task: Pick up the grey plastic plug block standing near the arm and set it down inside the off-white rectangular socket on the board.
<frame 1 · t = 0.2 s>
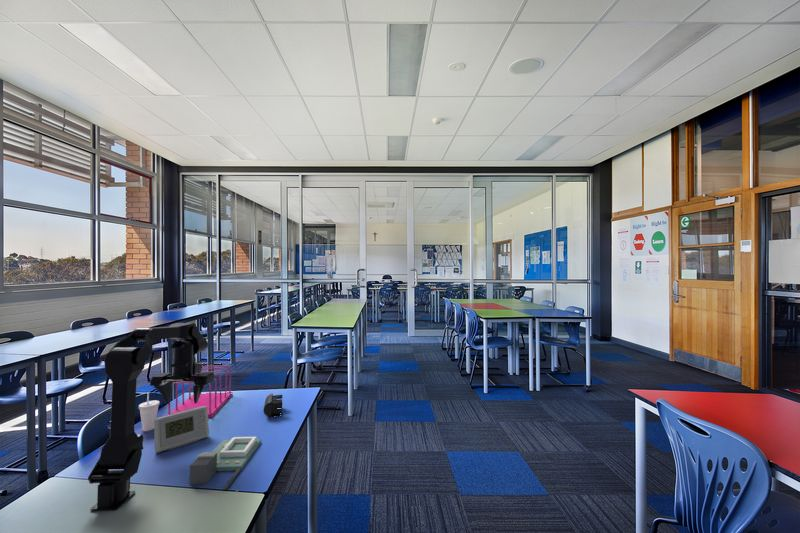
hand: (182, 403, 111), 14 cm above the table, fingers open, 9 cm apart
lead: (234, 476, 94), on the table
plug: (203, 478, 94), on the table
file sorter: (202, 407, 143), on the table
digital clock: (182, 443, 112), on the table
power adapter: (273, 413, 137), on the table
smoothie: (148, 429, 122), on the table
header board: (231, 455, 105), on the table
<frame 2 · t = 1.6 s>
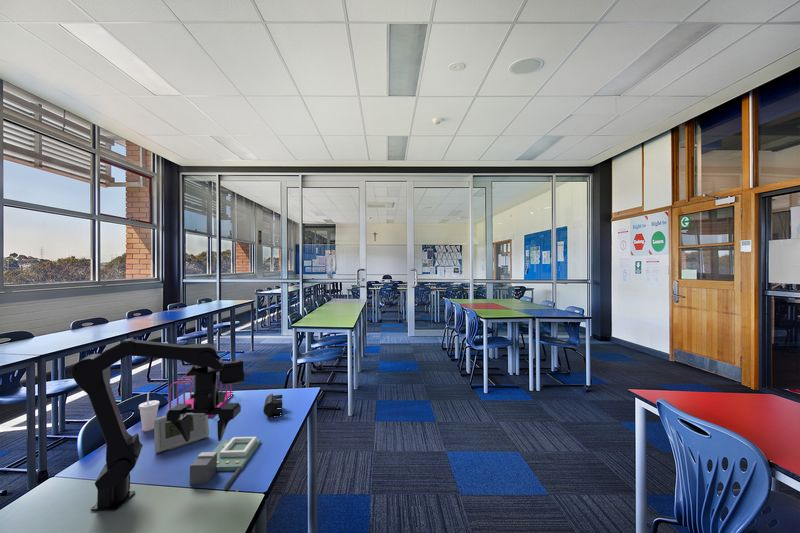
hand: (204, 440, 94), 11 cm above the table, fingers open, 9 cm apart
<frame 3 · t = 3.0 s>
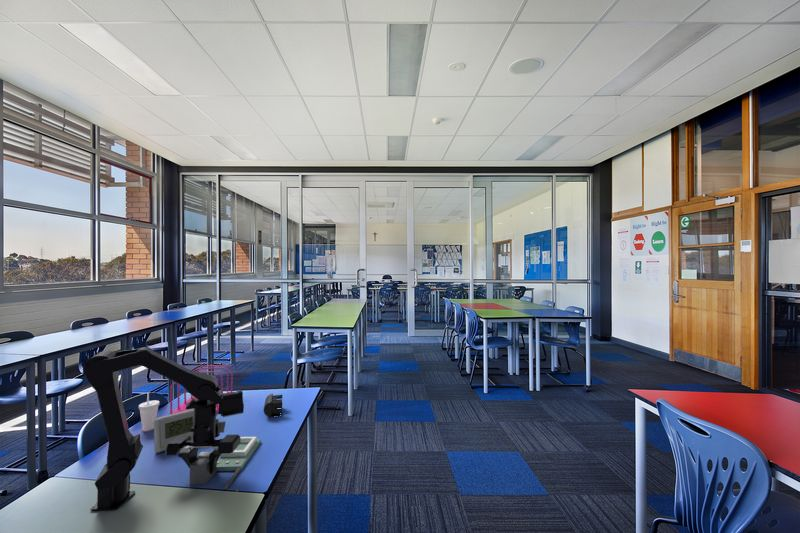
hand: (203, 473, 94), 1 cm above the table, fingers closed on plug, 4 cm apart
plug: (203, 477, 94), on the table, touching gripper
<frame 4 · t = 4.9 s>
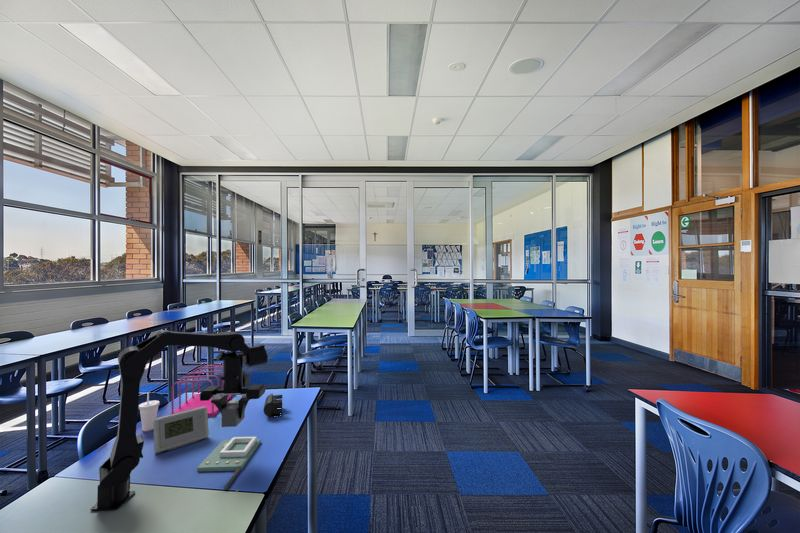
hand: (233, 418, 104), 13 cm above the table, fingers closed on plug, 4 cm apart
plug: (233, 422, 104), point 11 cm above the table, touching gripper
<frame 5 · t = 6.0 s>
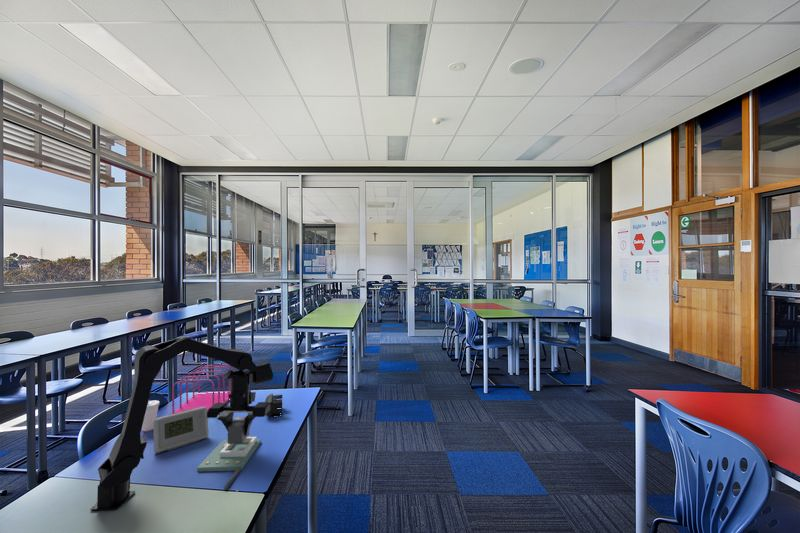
hand: (238, 435, 107), 6 cm above the table, fingers closed on plug, 4 cm apart
plug: (238, 438, 107), point 5 cm above the table, touching gripper
when the fingers open (3 cm above the table, at t = 6.8 s): plug stays where it is, resting on header board.
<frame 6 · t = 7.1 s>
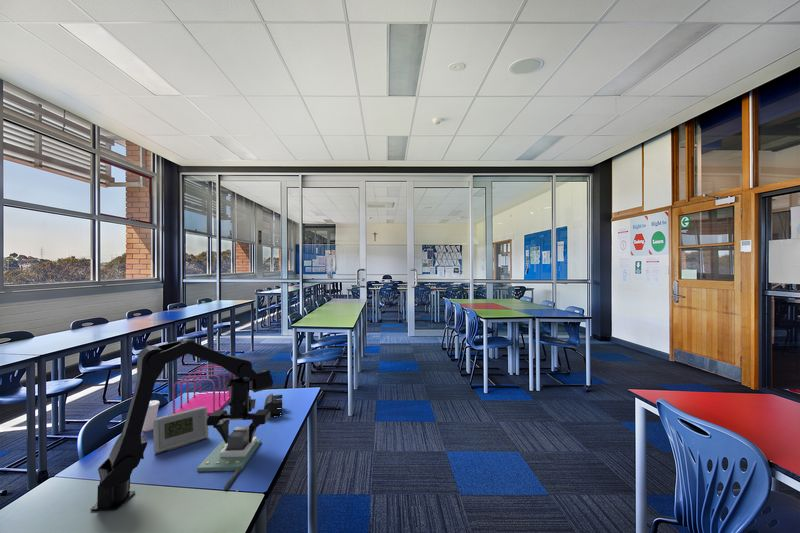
hand: (238, 442, 107), 3 cm above the table, fingers open, 7 cm apart
plug: (238, 448, 107), point 1 cm above the table, touching header board
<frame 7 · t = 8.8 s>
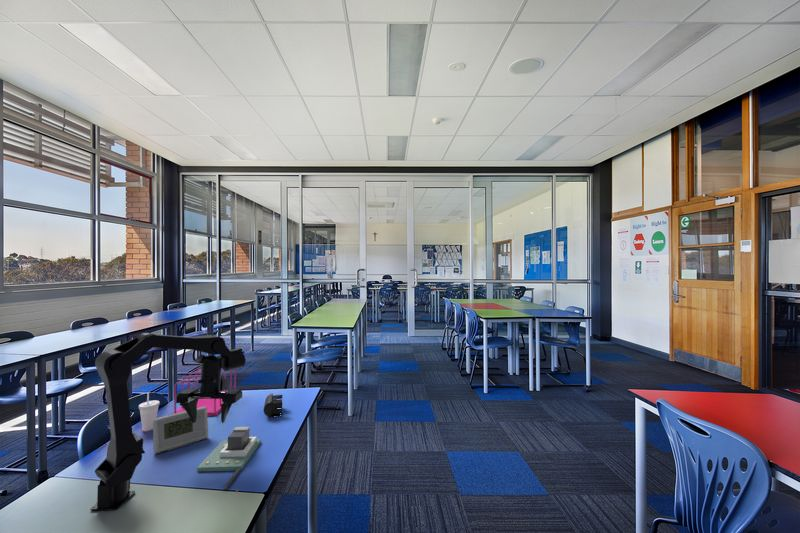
hand: (208, 422, 104), 11 cm above the table, fingers open, 9 cm apart
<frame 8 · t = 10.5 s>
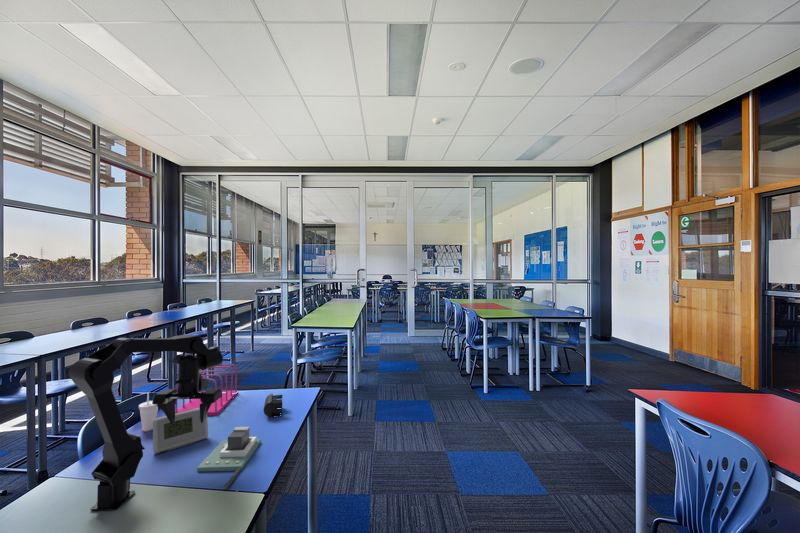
hand: (187, 422, 102), 12 cm above the table, fingers open, 9 cm apart
at the end: plug 0.1 cm from the target spot on the header board, point 1.2 cm above the header board's base; plug tilted 0°; the gripper is holding nothing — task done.
